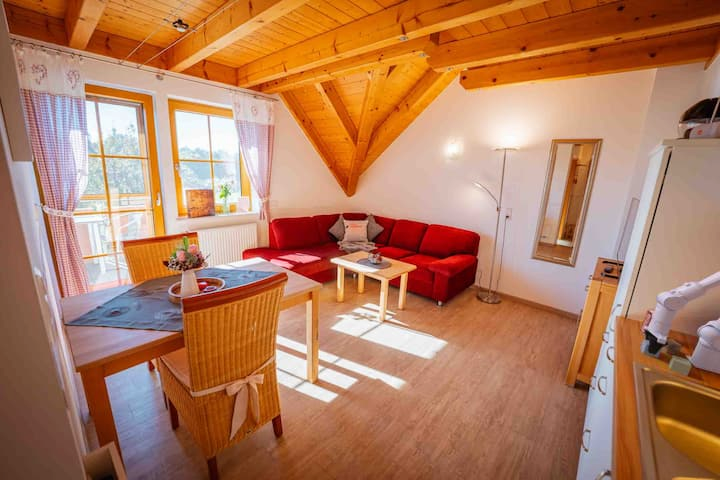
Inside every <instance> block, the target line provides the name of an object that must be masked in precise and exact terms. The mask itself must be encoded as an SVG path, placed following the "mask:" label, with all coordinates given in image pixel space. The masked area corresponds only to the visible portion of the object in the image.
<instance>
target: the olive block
mask: <svg viewBox="0 0 720 480" xmlns="http://www.w3.org/2000/svg"><path fill="white" fill-rule="evenodd" d="M668 367H669V371H672V372H674V373H677V374H680V375H682V376H685V377H688V375H689V373H690V370H691V369H692V363H691V362H690V361H689V360H688V358H684V357H681V356H677V355H676V354H672V356H671V359H670V361H669V363H668Z"/></svg>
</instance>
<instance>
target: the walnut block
mask: <svg viewBox="0 0 720 480" xmlns="http://www.w3.org/2000/svg"><path fill="white" fill-rule="evenodd" d="M666 341H667V342H668V345H666V346H664V347H663V348H661V351H662V352H664V353H665V354H669V355H670V354H671V355H675V356H677V355H679V354H680V351H681V349H682V347H683V346H682V344H680V343H678V342H677V341H676V340H675V339H673V338H668V337H667V338H666Z"/></svg>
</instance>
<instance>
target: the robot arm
mask: <svg viewBox="0 0 720 480" xmlns="http://www.w3.org/2000/svg"><path fill="white" fill-rule="evenodd" d="M719 286H720V270H719V271H717V272H716V273H715V272H714V273H713V274H712V275H710V276H708V277H706V278H704V279H702V280H699V281H697V282H696V281H689V282H685V283H683V285H680V286H679V287H676V288H674V289H671V290H669V291H662V292H660V293H658V295H655V300H656V301H657V303H656V307H655V308H654V309H655V311H654V314H653V317H652V319H651V322H650V324H649V326H648V327H646V326H644V330H645V335H644V336H645V337H644V339H645V340H649V347H648V352H649V353H651V354H656V353H657V352H658V351H659V350H660V349H661V348H663V347H664V346H666V345H668V342H667V341H666V338H667V339H668V337H669V332H670V330H671V328H672V324H673V323H674V320H675V318H676V315H677V314H678V311H680V310H683V309H684V308H685V307H686V305H687V304H688V303H689V302H693V301H694V300H697V299H699V298H701V297H703V296H706V295H707V292H708V291H709V290H711V289H714V288H717V287H719ZM697 335H698V342H697V345H696V346H695V349H694V351H693V354H692V356H691V355H687V354H686V355H685V357H686V359H687V360H689V361H690V363H691V365H693V367H695V368H697V369H701V370H705V371H707V372H712V373H714V374H715V373H716V374H718V375H720V317H719V318H718V319H717V320H710V321H708V322H707V323H706V324H704V325H701V326H700V327H699V328H698V329H697Z"/></svg>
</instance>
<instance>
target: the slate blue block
mask: <svg viewBox="0 0 720 480" xmlns="http://www.w3.org/2000/svg"><path fill="white" fill-rule="evenodd" d="M648 347H649V340H645V338H643V341H642V343H641V346H640V350H641V353H642V354H644V355H647V356H650V357H653V358H656V359H658V358H659V357H660V355H661V354H660V353H661V351H662V350H661V349H660V350H659V351H658V352H657V353H656V354H651V353H649V352H648Z"/></svg>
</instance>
